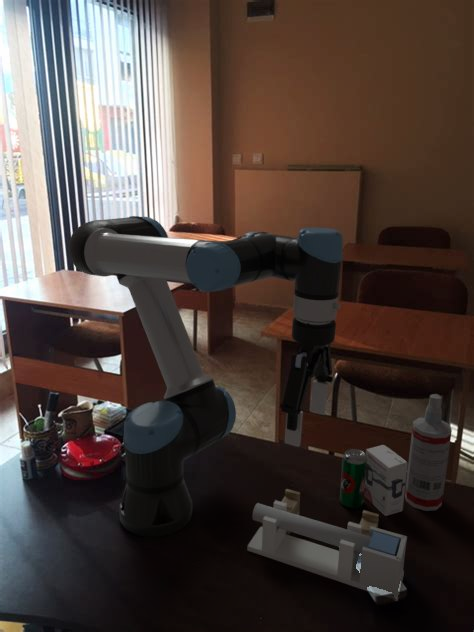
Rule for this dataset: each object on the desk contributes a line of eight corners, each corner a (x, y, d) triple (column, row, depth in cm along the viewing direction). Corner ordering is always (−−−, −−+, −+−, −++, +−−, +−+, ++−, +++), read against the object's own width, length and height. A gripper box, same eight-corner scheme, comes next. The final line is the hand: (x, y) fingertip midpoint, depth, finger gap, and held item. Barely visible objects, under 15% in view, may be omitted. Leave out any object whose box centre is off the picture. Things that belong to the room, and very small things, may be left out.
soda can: (363, 511, 115) (367, 461, 111) (339, 508, 116) (342, 458, 112) (362, 497, 119) (367, 449, 116) (339, 494, 120) (343, 446, 117)
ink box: (360, 494, 120) (364, 447, 117) (379, 489, 122) (383, 443, 119) (384, 517, 113) (389, 467, 110) (403, 511, 115) (409, 462, 112)
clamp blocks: (275, 530, 109) (276, 503, 107) (285, 514, 113) (286, 488, 112) (370, 559, 101) (372, 531, 99) (376, 541, 106) (378, 514, 104)
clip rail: (246, 551, 103) (247, 514, 100) (260, 529, 108) (261, 494, 106) (397, 602, 91) (401, 561, 89) (403, 575, 97) (408, 536, 95)
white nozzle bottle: (443, 513, 114) (458, 405, 107) (407, 508, 116) (419, 402, 109) (437, 491, 122) (451, 389, 115) (403, 487, 123) (414, 387, 116)
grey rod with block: (251, 525, 102) (251, 510, 101) (260, 512, 106) (260, 498, 105) (392, 570, 91) (394, 554, 90) (397, 553, 95) (398, 538, 94)
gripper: (310, 343, 81) (301, 465, 88) (354, 305, 103) (344, 405, 109) (265, 334, 84) (259, 453, 91) (317, 299, 106) (309, 397, 112)
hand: (305, 427), depth 100 cm, fingers open, 13 cm apart
